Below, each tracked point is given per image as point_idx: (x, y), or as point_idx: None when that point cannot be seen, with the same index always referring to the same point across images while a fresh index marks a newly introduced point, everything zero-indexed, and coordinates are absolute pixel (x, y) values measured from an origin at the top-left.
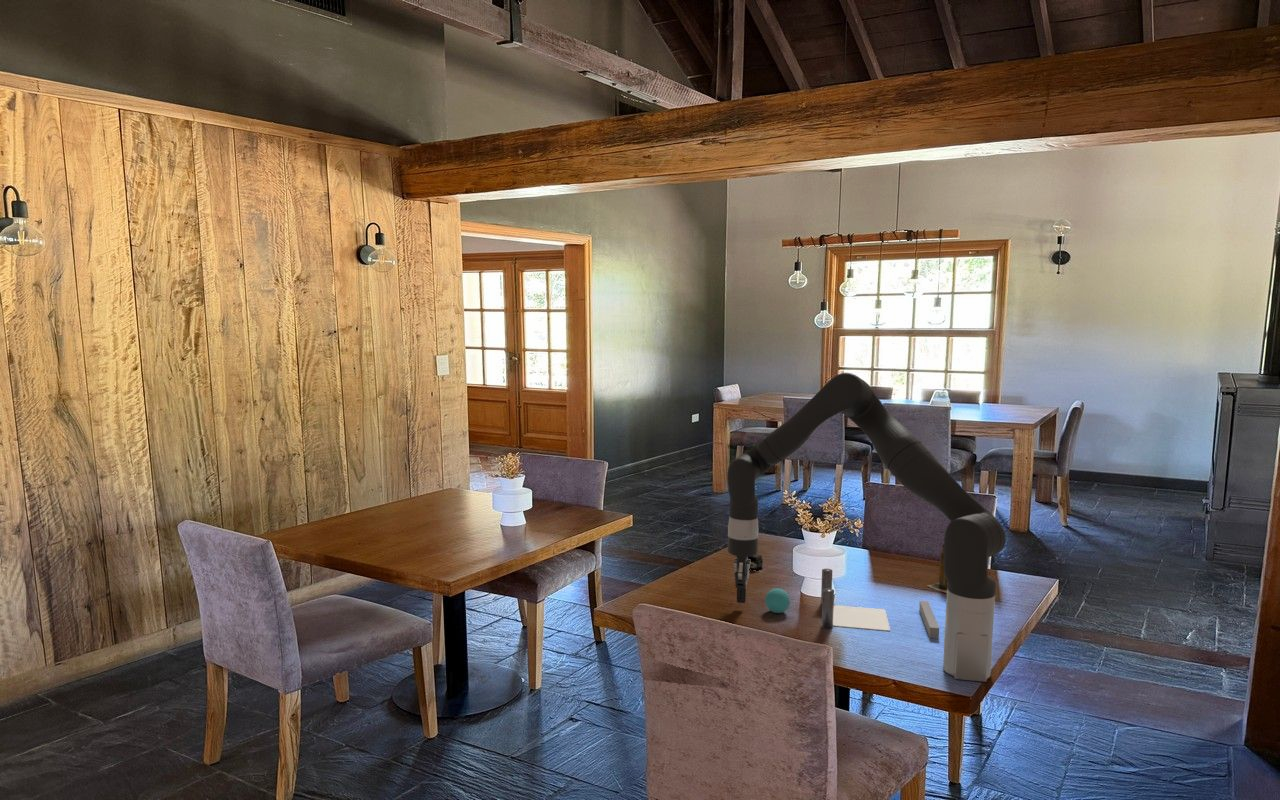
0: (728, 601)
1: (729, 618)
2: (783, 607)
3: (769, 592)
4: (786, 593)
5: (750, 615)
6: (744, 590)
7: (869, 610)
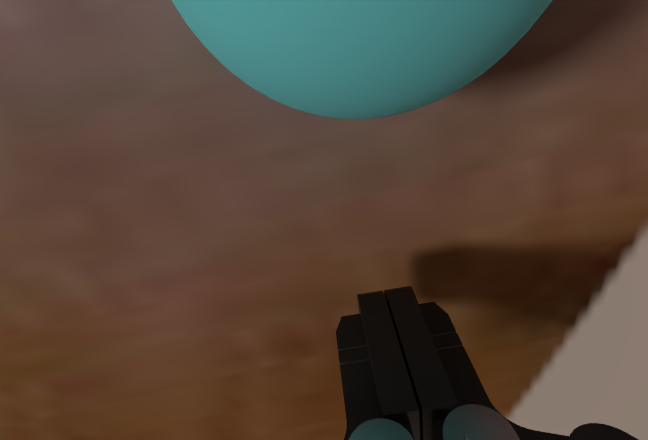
0: (253, 367)
1: (572, 288)
2: None
3: (449, 70)
4: None
5: (490, 178)
6: (449, 393)
7: None
